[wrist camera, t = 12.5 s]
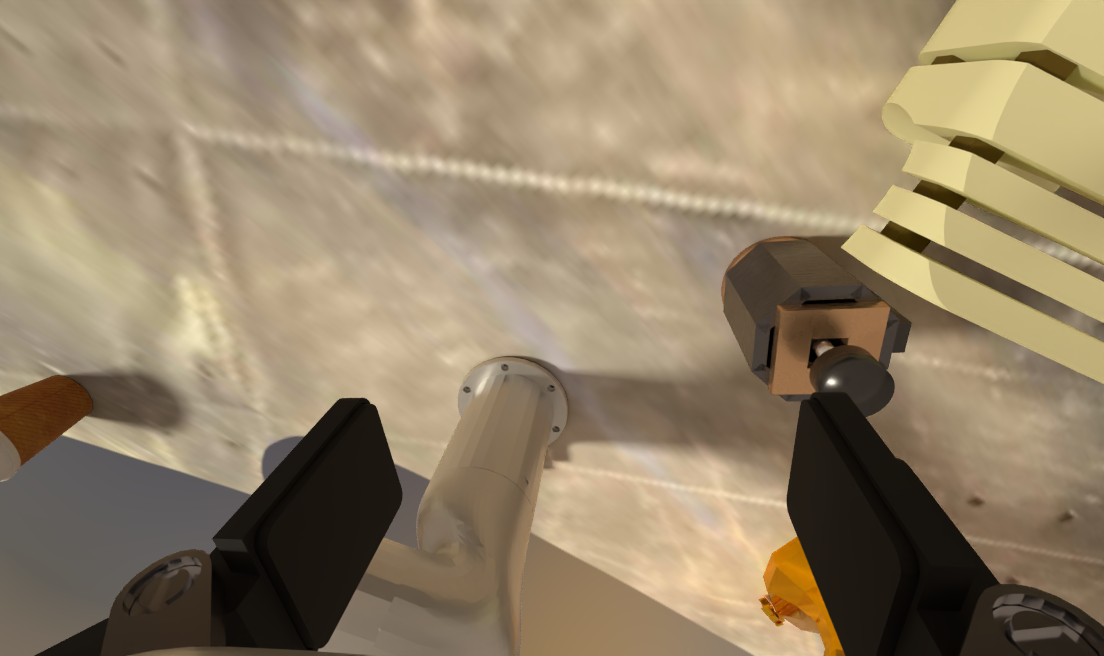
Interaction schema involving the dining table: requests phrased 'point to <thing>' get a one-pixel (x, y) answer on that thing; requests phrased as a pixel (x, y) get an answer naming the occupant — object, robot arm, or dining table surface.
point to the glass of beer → (37, 419)
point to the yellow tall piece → (798, 596)
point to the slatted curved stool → (1002, 167)
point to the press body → (802, 312)
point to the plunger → (850, 373)
